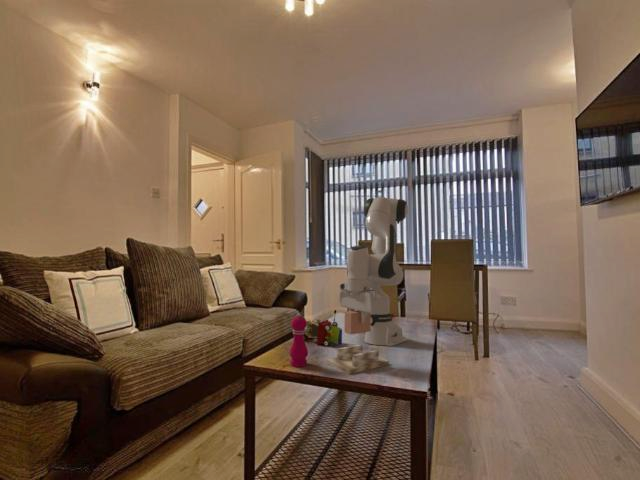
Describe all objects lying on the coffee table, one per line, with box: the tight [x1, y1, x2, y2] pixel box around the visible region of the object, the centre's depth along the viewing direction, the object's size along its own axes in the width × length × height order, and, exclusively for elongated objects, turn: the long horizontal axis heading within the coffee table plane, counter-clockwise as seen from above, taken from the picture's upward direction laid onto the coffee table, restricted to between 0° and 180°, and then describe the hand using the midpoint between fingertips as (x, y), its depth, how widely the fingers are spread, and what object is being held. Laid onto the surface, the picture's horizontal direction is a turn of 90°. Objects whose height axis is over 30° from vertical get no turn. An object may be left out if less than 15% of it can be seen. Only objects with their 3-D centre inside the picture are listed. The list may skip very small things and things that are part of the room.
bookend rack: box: [326, 344, 390, 375], centre depth 129 cm, size 20×14×6 cm
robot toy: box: [304, 309, 343, 347], centre depth 159 cm, size 17×9×20 cm
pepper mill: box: [289, 312, 309, 368], centre depth 128 cm, size 7×7×20 cm
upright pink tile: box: [344, 310, 371, 335], centre depth 130 cm, size 10×4×8 cm, turn 123°
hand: (357, 321), depth 130 cm, fingers closed on upright pink tile, 4 cm apart
